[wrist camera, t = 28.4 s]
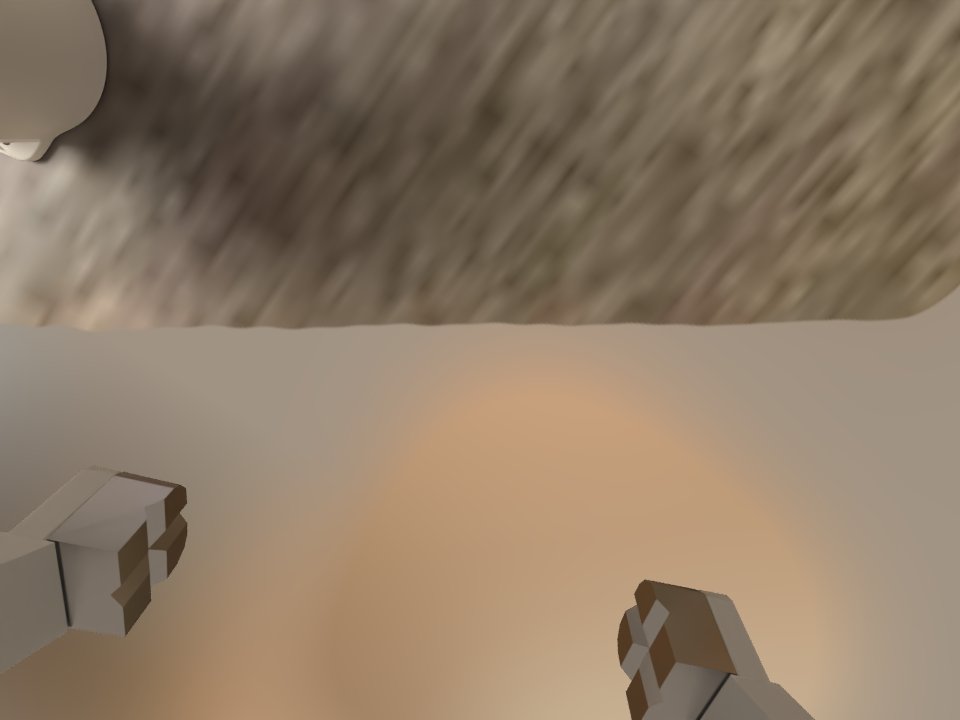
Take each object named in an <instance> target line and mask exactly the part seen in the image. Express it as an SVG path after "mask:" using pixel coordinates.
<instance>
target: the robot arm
mask: <svg viewBox="0 0 960 720" xmlns="http://www.w3.org/2000/svg"><path fill="white" fill-rule="evenodd" d="M106 71H107V55H106V46H105V40H104V35H103V31H102V27H101V24H100V21H99V18H98V15H97V12H96V10H95V8H94V5H93V3H92V1H91V0H0V152H1V153H3V154H6V155H8V156H10V157H13V158H15V159H18V160H21V161H37V160H39V159H40V158H41V157H42V156H43V155H44V154H45V152H46V151H47V149H48V148H49V146H50V145H51V143H52V141H53V139H54V138H56V137H57V136H58V135H60V134H62V133H64V132H66V131H68V130H70V129H72V128H74V127H76V126H77V125H79V124H80V123H82V122H83V121H84V120H85V119H86V118H87V117H88V116H89V115H90V114H91V113H92V111H93V110H94V108H95V107H96V105H97V103H98V102H99V99H100V97H101V95H102V92H103V88H104V85H105V79H106ZM186 504H187V494H186V488H185V487H183V486H182V485H179V484H175V483H170V482H166V481H161V480H157V479H153V478H149V477H144V476H140V475H136V474H131V473H127V472H120V471H115V470H111V469H107V468H102V467H98V466H91V467H88V468H85V469H83V470H81V471H80V472H79V473H78V474H76V475H75V476H74V477H73V478H72V479H71V480H69V481H68V482H67V483H66V484H65V485H64V486H62V487H61V488H60V489H59V490H58V491H57V492H55V493H54V494H53V495H52V496H51V497H50V498H48V499H47V500H46V501H45V502H44V503H43V504H41V505H40V506H39V507H38V508H37V509H35V510H34V511H33V512H32V513H31V514H30V515H28V516H27V517H26V518H25V519H24V520H23V521H21V522H20V523H19V524H18V525H17V526H16V527H14V528H13V529H12V530H11V531H10V532H9V533H6V532H0V674H1V673H3V672H5V671H6V670H8V669H9V668H11V667H12V666H14V665H16V664H17V663H19V662H20V661H22V660H24V659H25V658H27V657H28V656H30V655H32V654H33V653H35V652H36V651H38V650H39V649H41V648H42V647H44V646H46V645H47V644H49V643H51V642H52V641H54V640H55V639H57V638H58V637H60V636H62V635H63V634H65V633H66V632H68V628H73V629H79V630H85V631H92V632H98V633H104V634H111V635H117V636H124V637H126V635H127V634H128V632H129V631H130V630H131V628H132V627H133V625H134V624H135V623H136V621H137V620H138V619H139V617H140V616H141V614H142V613H143V612H144V610H145V609H146V608H147V606H148V605H149V603H150V602H151V587H152V586H154V585H155V584H158V583H160V582H162V581H164V580H165V579H167V578H168V577H169V575H170V574H171V572H172V571H173V569H174V568H175V566H176V565H177V563H178V561H179V559H180V556H181V554H182V552H183V550H184V547H185V543H186V538H187V522H186V521H185V519H184V518H183V517H182V515H181V514H180V512H181V510H182V509H183V508H184V507H185V505H186ZM634 595H635V599H636V603H637V605H635V606H634V607H632V608H630V609H628V610H627V611H625V614H624V616H623V618H622V620H621V623H620V626H619V633H618V639H617V640H618V655H619V660H620V666H621V668H622V669H623V670H624V672H625V673H626V674H627V675H628V677H629V678H630V679H631V680H632V681H631V683H630V685H629V687H628V689H627V691H626V695H627V700H628V704H629V709H630V714H631V719H632V720H815V719H814V718H813V717H811V715H810V714H809V713H808V712H807V711H806V710H805V709H803V708H802V706H801V705H799V703H797V702H796V700H795V699H793V698H792V697H791V696H790V695H789V694H788V693H787V692H786V691H785V690H784V689H783V688H782V687H781V686H780V685H779V684H776V683H771V682H770V681H769V678H768V676H767V674H766V672H765V670H764V668H763V666H762V664H761V661H760V659H759V657H758V655H757V653H756V651H755V648H754V646H753V644H752V642H751V640H750V638H749V635H748V633H747V631H746V629H745V627H744V625H743V623H742V621H741V618H740V616H739V614H738V612H737V610H736V608H735V605H734V603H733V601H732V600H731V599H730V598H729V597H728V596H727V595H723V594H718V593H713V592H707V591H702V590H695V589H691V588H686V587H681V586H676V585H670V584H665V583H661V582H655V581H650V580H644V581H642V582H641V583H640V584H639V586H638V588H637V589H636V591H635V594H634Z"/></svg>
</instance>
